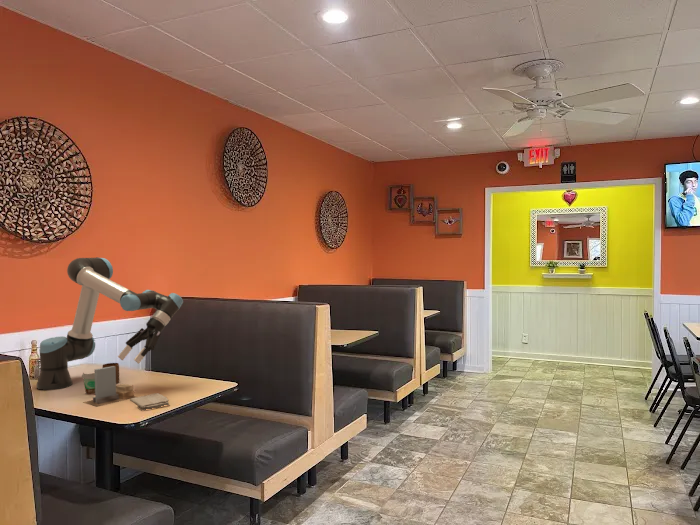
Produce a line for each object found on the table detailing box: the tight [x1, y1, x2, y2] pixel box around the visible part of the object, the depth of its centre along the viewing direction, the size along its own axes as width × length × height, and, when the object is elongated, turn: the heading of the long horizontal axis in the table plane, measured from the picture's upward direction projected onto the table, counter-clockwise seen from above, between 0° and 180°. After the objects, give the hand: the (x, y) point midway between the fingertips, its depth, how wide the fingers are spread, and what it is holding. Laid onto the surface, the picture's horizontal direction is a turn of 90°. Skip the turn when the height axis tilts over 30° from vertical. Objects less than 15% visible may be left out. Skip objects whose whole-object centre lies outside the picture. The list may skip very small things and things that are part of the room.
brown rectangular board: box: [82, 394, 137, 408], centre depth 225 cm, size 18×12×3 cm, turn 142°
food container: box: [81, 372, 95, 395], centre depth 238 cm, size 12×6×10 cm, turn 105°
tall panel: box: [94, 366, 117, 403], centre depth 224 cm, size 8×2×14 cm, turn 141°
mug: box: [101, 362, 120, 384], centre depth 259 cm, size 12×8×9 cm, turn 41°
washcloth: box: [129, 392, 170, 411], centre depth 221 cm, size 12×18×3 cm, turn 40°
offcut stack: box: [116, 383, 135, 399], centre depth 230 cm, size 5×8×5 cm
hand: (128, 360), depth 231 cm, fingers open, 13 cm apart
